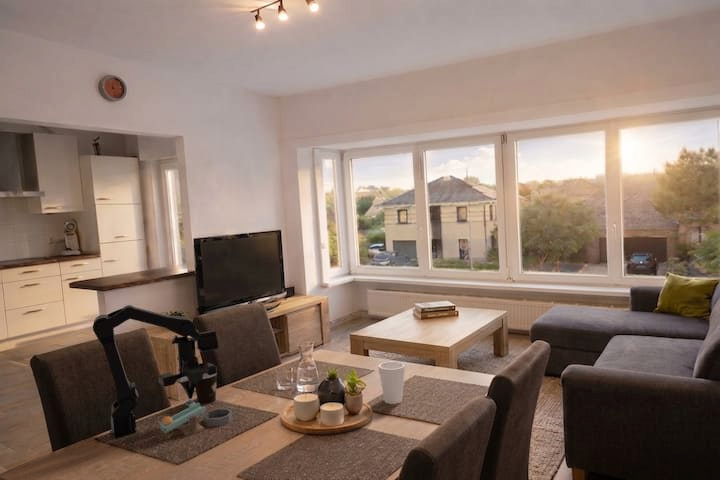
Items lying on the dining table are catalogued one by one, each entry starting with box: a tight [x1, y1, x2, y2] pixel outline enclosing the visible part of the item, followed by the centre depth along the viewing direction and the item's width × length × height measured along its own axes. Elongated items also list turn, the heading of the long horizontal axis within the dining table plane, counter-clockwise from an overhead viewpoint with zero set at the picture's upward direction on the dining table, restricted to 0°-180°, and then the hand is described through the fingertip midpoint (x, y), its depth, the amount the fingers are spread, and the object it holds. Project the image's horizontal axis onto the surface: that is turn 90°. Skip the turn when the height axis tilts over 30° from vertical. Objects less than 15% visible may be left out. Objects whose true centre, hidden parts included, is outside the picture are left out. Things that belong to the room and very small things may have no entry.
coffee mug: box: [194, 373, 218, 405], centre depth 200 cm, size 12×9×10 cm
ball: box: [161, 415, 173, 427], centre depth 170 cm, size 3×3×3 cm
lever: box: [157, 398, 207, 433], centre depth 176 cm, size 14×13×3 cm
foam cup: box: [378, 360, 406, 405], centre depth 190 cm, size 10×9×13 cm
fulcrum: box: [157, 416, 205, 441], centre depth 172 cm, size 13×8×5 cm, turn 129°
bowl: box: [202, 408, 233, 427], centre depth 180 cm, size 9×9×2 cm
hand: (190, 398), depth 183 cm, fingers closed
